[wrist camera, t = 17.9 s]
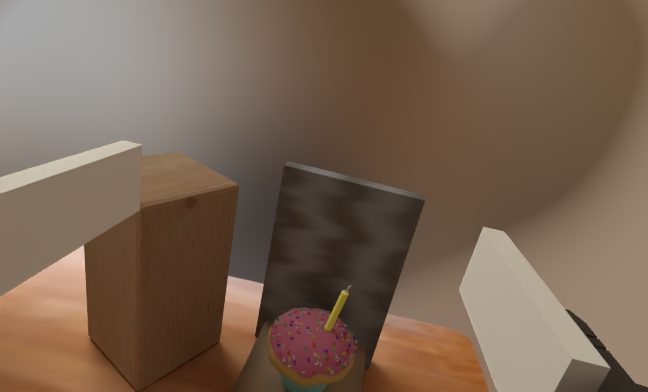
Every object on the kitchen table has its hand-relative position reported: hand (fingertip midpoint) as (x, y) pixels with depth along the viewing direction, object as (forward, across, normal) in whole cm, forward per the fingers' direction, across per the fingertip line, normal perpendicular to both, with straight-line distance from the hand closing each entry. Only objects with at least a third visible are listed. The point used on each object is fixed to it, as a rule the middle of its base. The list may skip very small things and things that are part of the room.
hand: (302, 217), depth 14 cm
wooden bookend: (+17, +2, -27) cm, 32 cm away
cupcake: (+16, +2, -24) cm, 29 cm away
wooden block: (+19, -15, -27) cm, 37 cm away
